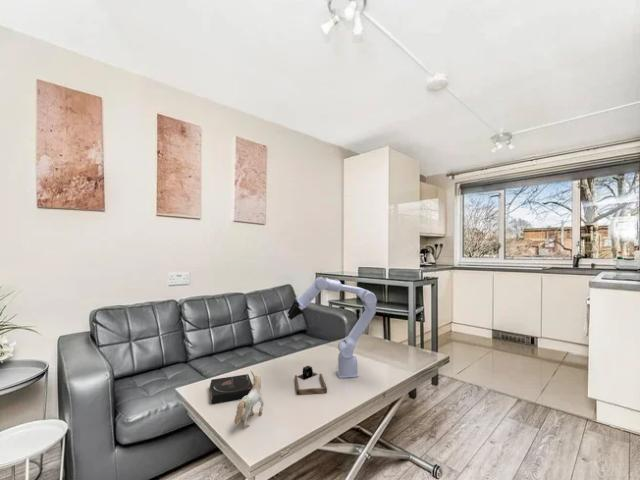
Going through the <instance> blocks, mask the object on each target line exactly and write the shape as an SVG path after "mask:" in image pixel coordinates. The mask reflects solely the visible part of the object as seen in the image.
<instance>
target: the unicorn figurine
mask: <svg viewBox="0 0 640 480" xmlns="http://www.w3.org/2000/svg"><path fill="white" fill-rule="evenodd" d="M250 373H251V375H252V376H253V377H252V379H253V383H252V385H253V388H252V390H251V391H250V392H249V394H248V395H246V396H244V397H243V398H242V399H241V400H240V401H239V402H238V405H237V406H236V407H237V409H236V411H235V413H236V414H235V416H234V420H233V422H234V425H235V427H236V428H237V426H238V424H239V423H240V422H241V423H243V425H244V427H245V428H249V427H250V424H249V422H248V416H251V417H252V416H254V415H255V412H254V407H255V405H257V403H258V402H260V407H259V409H258V411H259V412H258V415H259V416H262V414H263V410H264V403H265V402H264V400H263V398H262V397H263V392H262V391H261V388H262V385H261V384H262V381H261V376H260V374H256V375H255V374H254V372H253V371H252V370H250ZM244 410H245V414H243V413H244Z"/></svg>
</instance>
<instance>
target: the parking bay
mask: <svg viewBox="0 0 640 480" xmlns="http://www.w3.org/2000/svg"><path fill="white" fill-rule="evenodd" d="M318 375H319V377H318V378H319V381H320V384H321V387H312V388H310V387H309V388H300V385H299V381H298V380H299V379H298V377H297V376H298V375H297V374H295V375H294V385H295V390H296V396H304V395H319V394H327V393H328V387H327V385H326V383H325V380H324V376H323V374H322V373H319V374H318Z"/></svg>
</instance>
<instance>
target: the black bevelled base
mask: <svg viewBox="0 0 640 480" xmlns="http://www.w3.org/2000/svg"><path fill="white" fill-rule="evenodd" d="M318 375H319V374H318V373H316V372H314V370H313V367H312V366H311V365H306V366H303V368H302V374H300V375H297V379H298V378H299V379H300V380H303V381H305V380H307V379H310V378H312V377H315V376H318Z"/></svg>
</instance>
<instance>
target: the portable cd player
mask: <svg viewBox="0 0 640 480" xmlns="http://www.w3.org/2000/svg"><path fill="white" fill-rule="evenodd" d="M252 384H253V383H252V380H251V378H250V375H249V373H246V374H241V375H233V376H226V377H220V378H212V379H211V380H210V384H209V391H210V392H209V393H210V403H211V405H218V404H222V403H229V402H234V401H239V400H240V401H241V399H242V398H243V397H244V396H246V395H248V394H249V392H250V391H251V390H252V388H253V385H252Z"/></svg>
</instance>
